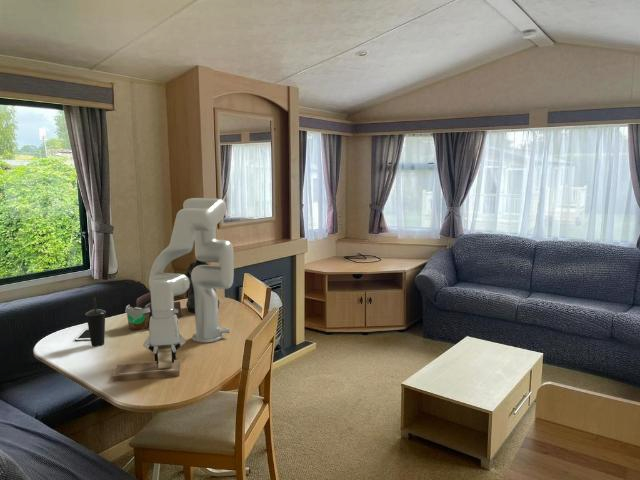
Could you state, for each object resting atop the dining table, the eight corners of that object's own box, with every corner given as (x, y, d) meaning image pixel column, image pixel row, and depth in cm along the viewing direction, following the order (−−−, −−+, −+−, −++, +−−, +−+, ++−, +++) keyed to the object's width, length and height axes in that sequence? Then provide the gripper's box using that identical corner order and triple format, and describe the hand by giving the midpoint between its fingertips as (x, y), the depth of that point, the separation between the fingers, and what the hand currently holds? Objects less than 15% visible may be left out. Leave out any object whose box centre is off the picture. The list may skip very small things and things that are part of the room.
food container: (119, 329, 224) (118, 307, 223) (129, 325, 230) (128, 304, 228) (141, 333, 220) (140, 311, 218) (151, 328, 225) (150, 307, 224)
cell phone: (73, 342, 209) (73, 340, 209) (85, 330, 224) (85, 328, 224) (93, 341, 210) (93, 339, 210) (103, 329, 225) (103, 327, 225)
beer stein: (211, 315, 245) (209, 265, 241) (175, 312, 250) (172, 263, 246) (225, 305, 261) (223, 258, 257) (191, 303, 266) (189, 257, 262)
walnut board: (180, 364, 186) (180, 359, 185) (179, 375, 176) (179, 370, 176) (117, 370, 181) (117, 364, 180) (112, 381, 171) (112, 376, 171)
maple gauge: (172, 362, 182) (171, 344, 181) (172, 367, 178) (171, 348, 177) (159, 363, 181) (158, 345, 180) (158, 368, 177) (157, 349, 175)
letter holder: (136, 326, 228) (134, 296, 226) (165, 314, 247) (163, 286, 244) (153, 329, 225) (152, 299, 222) (181, 317, 243) (180, 288, 241)
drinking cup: (95, 349, 201) (91, 301, 197) (83, 345, 205) (80, 298, 201) (112, 343, 207) (108, 296, 204) (100, 339, 211) (97, 293, 208)
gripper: (188, 308, 182) (190, 356, 185) (139, 311, 178) (141, 360, 181) (187, 314, 175) (189, 364, 177) (136, 318, 171) (139, 368, 174)
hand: (165, 361), depth 179 cm, fingers closed on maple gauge, 4 cm apart
